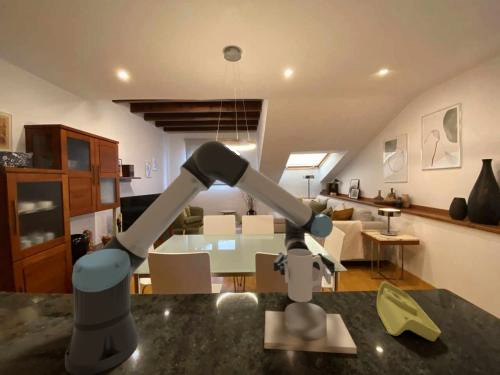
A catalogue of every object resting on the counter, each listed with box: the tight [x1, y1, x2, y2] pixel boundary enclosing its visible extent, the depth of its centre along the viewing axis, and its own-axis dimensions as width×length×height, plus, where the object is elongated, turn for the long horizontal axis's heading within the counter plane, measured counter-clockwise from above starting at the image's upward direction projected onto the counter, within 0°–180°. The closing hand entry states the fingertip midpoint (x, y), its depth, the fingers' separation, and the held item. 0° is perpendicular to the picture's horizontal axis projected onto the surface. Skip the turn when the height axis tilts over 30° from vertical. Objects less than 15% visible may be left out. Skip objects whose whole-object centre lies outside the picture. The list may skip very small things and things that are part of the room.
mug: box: [286, 249, 324, 303], centre depth 62 cm, size 10×7×12 cm, turn 95°
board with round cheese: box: [263, 301, 358, 355], centre depth 63 cm, size 22×14×6 cm, turn 85°
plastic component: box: [376, 281, 442, 342], centre depth 69 cm, size 20×7×10 cm
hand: (308, 278), depth 59 cm, fingers closed on mug, 10 cm apart
